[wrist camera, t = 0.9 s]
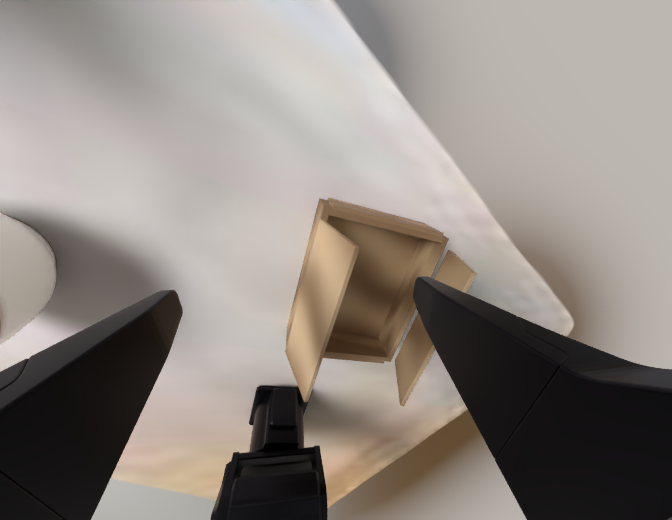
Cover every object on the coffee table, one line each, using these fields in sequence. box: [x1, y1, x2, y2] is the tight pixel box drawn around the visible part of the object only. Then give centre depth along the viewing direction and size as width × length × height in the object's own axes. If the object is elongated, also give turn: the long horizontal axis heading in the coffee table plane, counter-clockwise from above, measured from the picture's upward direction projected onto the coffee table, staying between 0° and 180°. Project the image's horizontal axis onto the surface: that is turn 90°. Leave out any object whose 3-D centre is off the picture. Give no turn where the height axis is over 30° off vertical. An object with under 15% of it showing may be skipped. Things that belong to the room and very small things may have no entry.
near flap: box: [285, 219, 360, 402], centre depth 17 cm, size 12×5×1 cm
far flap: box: [395, 250, 476, 406], centre depth 20 cm, size 12×5×1 cm
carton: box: [286, 198, 448, 363], centre depth 23 cm, size 15×11×4 cm
